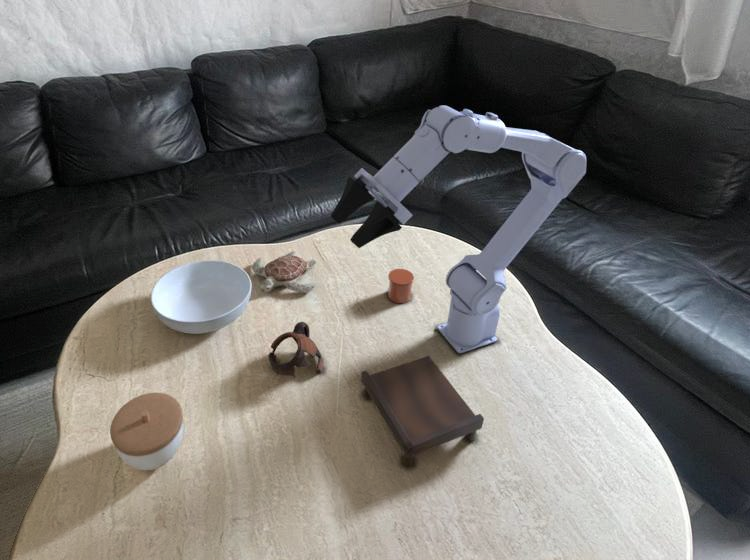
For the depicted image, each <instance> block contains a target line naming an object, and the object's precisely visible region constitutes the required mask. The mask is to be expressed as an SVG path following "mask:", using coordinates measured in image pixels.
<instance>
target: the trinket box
mask: <svg viewBox="0 0 750 560" xmlns="http://www.w3.org/2000/svg"><path fill="white" fill-rule="evenodd" d="M184 427H185V426H184V415H183V409H182V406H181V404H180V402H179V401H178V400H177V399H176V398H175V397H174V396H172V395H171V394H167V393H164V392H147V393H144V394H141V395H138V396H136V397H134V398H132V399H130V400H129V401H127V402H126V403H125V404H123V405H122V406H121V407H120V408H119V409H118V410H117V412H116V414H115V415H114V416H113V418H112V421H111V424H110V428H109V435H110V439H111V441H112V444H113V446H114V448H115V450H116V453H117V455H118V456H119V458H120V459H121V460H122V461H123V462H124V463H125V464H126V465H127V466H129V467H131V468H132V469H135V470H138V471H153V470H156V469H158V468H160V467H162V466H164V465H166V464H168V463H169V462H170V461H171V460H172V459H173V458H174V457H175V455H176V454H177V452H178V451H179V449H180V447H181V445H182V441H183V437H184V430H185V429H184Z"/></svg>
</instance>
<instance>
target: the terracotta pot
mask: <svg viewBox="0 0 750 560" xmlns="http://www.w3.org/2000/svg"><path fill="white" fill-rule="evenodd" d="M387 278H388V292H387V295H388V299H389V300H390V301H391V302H394V303H397V304H405V303H407V302H409V301H410V300H411V297H412V296H411V295H412V288H413V283H414V280H415V276H414V274H413V273H412V272H411V271H409V270H408V269H405V268H395V269H392V270H390V271H389V272H388V276H387Z"/></svg>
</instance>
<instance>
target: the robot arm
mask: <svg viewBox="0 0 750 560" xmlns="http://www.w3.org/2000/svg"><path fill="white" fill-rule="evenodd" d="M501 148H502V149H507V150H511V151H517V152H521V159H522V163H523V165H524V168H525V171H526V174H527V176H528V178H529V180H530V187H531V189H530V190H529V191H528V192H527V195H525V197H524V198H523V199H522V200H521V201H520V202H519V204H518V205H517V207H515V208H514V210H513V212H512V213H511V214H510V215H509V216H508V217H507V219H506V220H505V221H504V223H503V224H502V225H501V226H500V228H499V229H498V230H497V232H496V233H495V234H494V235H493V236H492V238H491V239H490V241H489V242H488V243H487V244H486V246H484V248H483V249H482V250H481V252H480V253H478V254H477V253H476V254H467V255H464V257H463V258H462V259H461V260H460V261H459V262H458V263H456V264H455V265H454V266H452V267H451V268H450V269H449V270H448V272H447V273H446V277H445V284H446V286H447V287H448V288H449V289H450V290H449V295H450V304H449V310H448V316H447V322H446V323H443V324H440V325H437V330H438V332H439V333H440V334H441V335H442V336H443V337H444V338H445V340H446V341H447V342H448V343H449V345H451V347H452V348H453V349H454V350H455V351H456V352H457V354H463V353H466V352H469V351H472V350H475V349H477V348H481V347H484V346H487V345H490V344H493V343H497V342H498V337H497V336H496V333H497V329H498V325H499V320H500V312H501V311H500V307H499V302H500V300H501V297H502V295H503V294H504V292H505V291H506V290H507V289H508V288H507V282H506V278H505V273H504V271H505V270H506V268H508V266H509V265H510V264H511V263H512V261H513V260H514V259H515V258H516V256H517V255H518V254H519V253H520V251H521V250H522V249H523V248H524V247H525V245H527V243H528V242H529V240H530V239H531V238H532V237H533V236H534V234H535V233H536V232H537V231H538V229H539V228H540V227H541V226H542V225H543V223H544V222H545V221H546V220H547V218H548V217H549V216H550V215H551V213H552V212H553V211H554V210H555V208H557V206H558V205H559V204H560V202H561V201H562V200H563V199H566V198H567V197H568V195H569V194H570V193H571V192H572V191H573V189H575V187H576V186H577V184H579V182H580V181H581V180H582V179H583V177H584V176H585V175H586V174H587V156H586V154H585V153H584V152H583V151H582V150H580V149H576V148H573V147H571V146H569V145H567V144H565V143H563V142H561V141H560V140H557V139H555V138H553V137H551V136H550V135H548V134H546V133H544V132H540V131H537V130H536V129H535V130H532V129H523V128H515V127H507V126H506V125H505V123H504V122H503V121H502V120H501V119H500V118H499V116H498V115H497V114H495V113H493V112H490V111H489V112H488V111H487V112H486V113H485V115H484V114H483V115H482V114H479V113H478V114H477V113H474V112H473V111H472V110H470V109H467V108H463V110H462V111H458V110H456V109H454V108H453V107H450V106H448V105H443V104H442V105H439V106H436V107H434V108H432V109H427V110H426V111H425V112H424V114H423V116H422V118H421V122H420V125H419V127H418V128H417V129H415V131H414V134H413V136H412V137H411V138H410V139H409V140H408V141H407V142H406V143H405V144H404V145H403V146H402V147H401V148H400V149H399V150H398V151H397V152H395V154H394V155H393V156H392V157H391V158H390V159H389V160H388V162H386V163H385V164H384V165H383V167H381V168H380V169H379V170H378V171H377V172H376V173H375V175H371V173H369V172H367V171H366V170H365V169H364V168H362V167H361V168H360V169H359V170H358V171H357V172H356V173H355V174H354V175H353V177H354V178H355V179H354V178H353V177H352V176H348V177H347V179H346V183H345V187H344V190H343V191H342V193H341V194H342V195H341V196H340V199H339V201H338V202H337V203H336V206H335V207H334V209H333V210H332V212H331V214H330V218H332V219H333V220H334V221H335V222H336V223H337V224H338V225H339V224H342V223H343V222H345V221H346V220H347V219H348V218H349V217H350V216H351V215H352V214H353V213H355V212H356V211H357V210H358V209H360V208H361V207H363V206H365V205H366V204H369V203H370V202H372V201H375V199H377V201H375V204H374V206H373V208H372V210H371V211H370V213H369V215H368V216H367V218H366V219H365V221H364V222H363V223H362V225H361V226H359V228H358V229H357V230H356V231H355V232H354V233H353V235H352V236H351V237H350V239H349V241H350V242H351V243H352V244H353V245H354V246H356V247H357V248H358V249H361V248H362V247H364V246H366V245H367V244H369V243H371V242H372V241H375V240H376V239H378V238H380V237H383V236H385V235H387V234H391V233H395V232H398V231H401V230H402V228H403V227H402V225H405V224H406V223H407V222H408V221H409V220H410V219H411V218H412V217H413V214H412V213H411V212H410V211H409V210H408V209H407V207H406V206H404V205H403V204H402V203H401V202H402V200H404V198H405V197H406V196H407V195H409V194H410V193H411V192H412V191H413V190H414V188H415V187H417V186H418V185H419V183H420V182H422V180H424V179H425V178H426V176H428V174H430V172H432V171H433V169H434V168H435V167H436V166H437V165H439V164H440V163H441V161H443V160H444V159H445V158H446V157H447V156H448V155H449V154H450V153H453V154H458V153H461V152H464V151H465V150H468V151H474V152H480V153H488V154H493V153H495V152H497V151H499V150H500V149H501ZM377 193H380V194H381V195H382V196H383V198H381V196H380V195H379V194H377ZM400 223H401V224H402V225H401V224H400Z"/></svg>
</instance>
